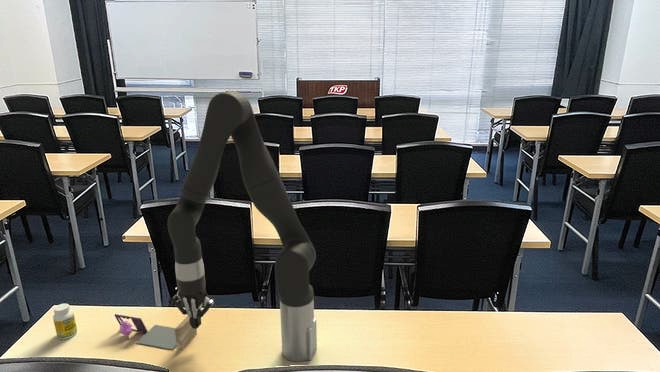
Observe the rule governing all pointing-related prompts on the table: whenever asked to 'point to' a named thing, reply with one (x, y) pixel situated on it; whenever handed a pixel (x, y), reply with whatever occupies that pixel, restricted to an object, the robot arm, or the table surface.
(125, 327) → the purple toy case
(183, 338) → the tile
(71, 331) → the supplement bottle
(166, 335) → the felt mat
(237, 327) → the table surface
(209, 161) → the robot arm
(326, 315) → the table surface
